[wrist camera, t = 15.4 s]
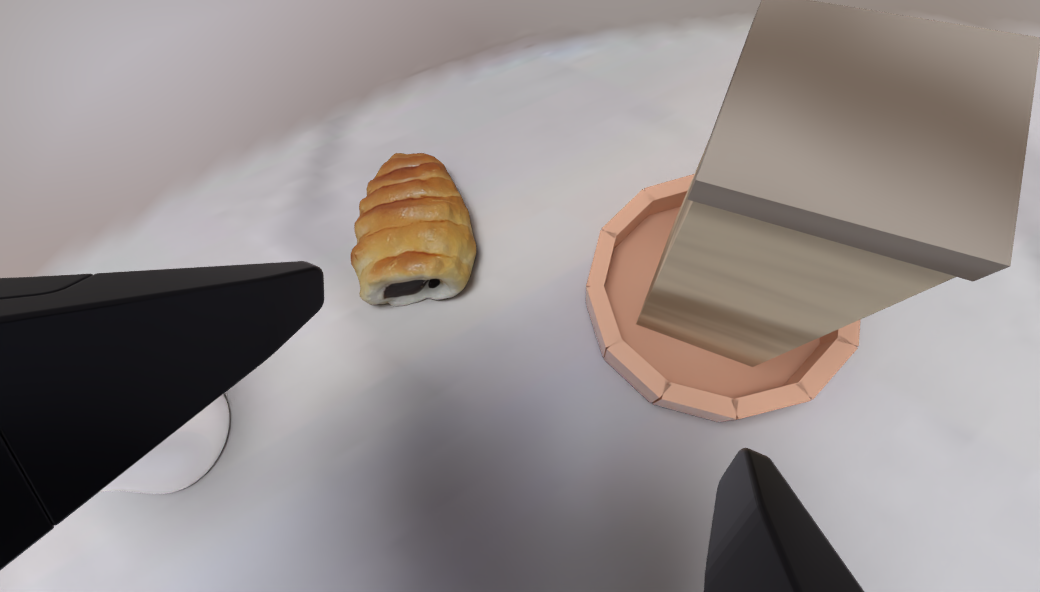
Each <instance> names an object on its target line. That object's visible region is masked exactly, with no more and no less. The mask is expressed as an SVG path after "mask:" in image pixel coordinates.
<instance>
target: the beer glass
mask: <svg viewBox="0 0 1040 592" xmlns="http://www.w3.org/2000/svg"><path fill="white" fill-rule="evenodd" d="M229 422H230V415H229V408H228V404H227V401H226V398H225V396H224V394H222V395H221V396H220V397H219V398H217V399H216V400H215V401H214V402H212V403H211V404H210V405H208V406H207V407H206V408H205V409H203V410H202V411H201V412H200V413H198V414H197V415H196V416H195V417H193V418H192V419H191V420H189V421H188V422H187V423H186V424H184V425H183V426H182V427H181V428H179V429H178V430H177V431H176V432H174V433H173V434H172V435H170V436H169V437H168V438H167V439H165V440H164V441H163V442H162V443H160V444H159V445H158V446H157V447H155V448H154V449H153V450H151V451H150V452H149V453H148V454H146V455H145V456H144V457H143V458H141V459H140V460H139V461H137V462H136V463H135V464H134V465H132V466H131V467H130V468H129V469H127V470H126V471H125V472H124V473H122V474H121V475H120V476H118V477H117V478H116V479H115V480H113V481H112V482H111V483H110V484H108V485H107V486H106V487H105V488H103V489H102V490H101V491H99V492H108V491H126V492H136V493H146V494H168V493H173V492H176V491H179V490H182V489H184V488H186V487H188V486H190V485H192V484H193V483H195V482H196V481H198V480H199V479H200V478H201V477H202V476H204V475H205V474H206V473H207V472H208V470H209V469H210V468H211V467H212V466H213V464H214V463H215V462H216V460H217V458H218V457H219V455H220V453H221V451H222V449H223V447H224V444H225V442H226V439H227V435H228V431H229Z"/></svg>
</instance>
